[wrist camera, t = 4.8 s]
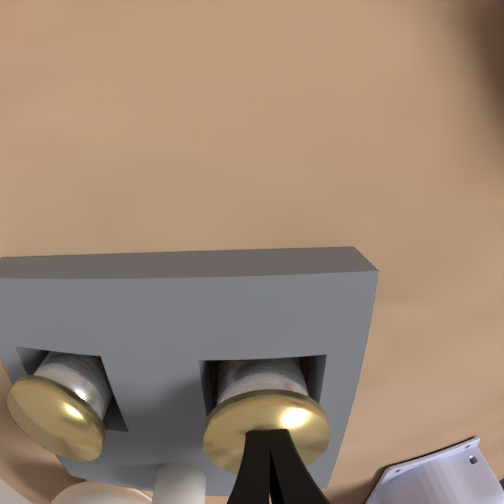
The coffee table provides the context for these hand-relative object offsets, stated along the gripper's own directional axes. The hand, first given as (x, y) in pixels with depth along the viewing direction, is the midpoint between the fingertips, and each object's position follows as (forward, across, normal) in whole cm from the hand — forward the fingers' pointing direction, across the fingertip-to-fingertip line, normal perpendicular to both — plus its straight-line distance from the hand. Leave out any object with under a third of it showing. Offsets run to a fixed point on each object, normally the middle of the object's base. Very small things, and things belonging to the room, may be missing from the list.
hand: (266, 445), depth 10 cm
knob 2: (+4, 0, 0) cm, 4 cm away
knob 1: (+4, +8, 0) cm, 9 cm away
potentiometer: (+2, +4, +6) cm, 8 cm away
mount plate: (+5, +4, +2) cm, 6 cm away
